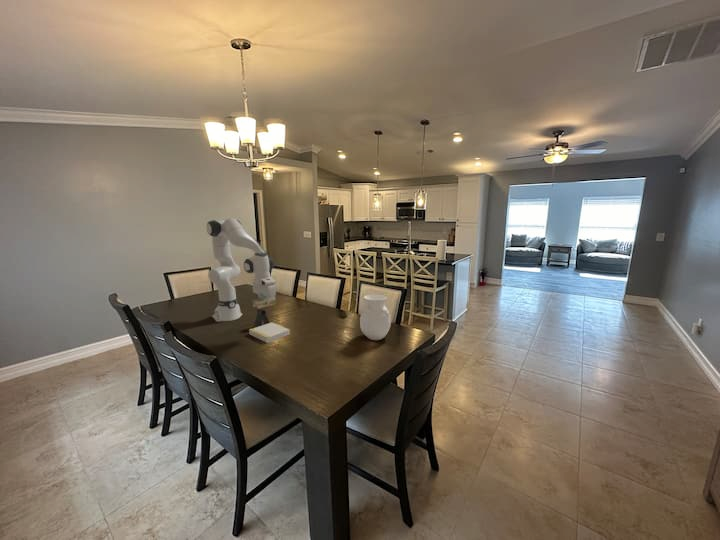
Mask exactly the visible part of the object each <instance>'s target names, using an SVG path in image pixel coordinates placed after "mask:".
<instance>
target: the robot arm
mask: <svg viewBox="0 0 720 540" xmlns="http://www.w3.org/2000/svg"><path fill="white" fill-rule="evenodd" d="M206 232H207V234H208V235H209V236H210V237H211V243H212V251H213V252H212V253H213V257H214V259H215V260H217V261H218V262H219V266H215V267H214V268H212V269H211V270H209V271H208V275H207V277H208V279H209V281H210V282H212V283H213V284H214V285H215V287H216V288H217V293H218V305H217V306H216V308H215V309H214V311H213V312H214V314H212V315H211V317H212V318H213V319H214V320H215V322H217V323H218V322H231V321H232V322H233V321H235V320H237V319H240V318H241V316H242V315H243V313H242V312H241V308H240V304H238V299H237V294H236V293H237V292H236V288H235V286H234V285H232V284H231V282H230V280H233V279H235V278H237V277H238V276H239V275H240V274H241V267H240V266H239V265H238V264H236V262H235V260H234V258H233V256H232V255H233V254H232V250H231V244H232V245H233V246H236V247H238V248H244V249H249V250H251V251H253V252H254V254H253V256H251V257H248V258H245V259H244V261H243V269H244V271H245V272H246V273H247V274H254V279H253V281H252V292H253V293H254V294H256V295H257V297H258V299H260V298H259V293H262V294H263V296H266V298H267V300H266V303H267V304H269V303H270V299H271V298H272V297H276V295H277V293H276V292H277V290H276V285H275V284H276V280H275V279H274V278H273V277H272V276H271V273H270V272H271V271H272V270H273V268H274V266H275V260H274V258H272V256H270V255H269V254H268V253H267V252H266V250H265V249H264V248H263V247H262V245H261V244H260V243H259V242H258V241H257V240H256V239H255V238H254V237H252V236H250V234H248V233H247V232H246V231H245V229H244V227H243V226H242V223H241V222H240V220H238V219H235V218H234V217H233V218H231V217H230V218H226V219H216V220H214V219H213V220H209V221H207V223H206Z"/></svg>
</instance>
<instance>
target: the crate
mask: <svg viewBox="0 0 720 540" xmlns="http://www.w3.org/2000/svg"><path fill="white" fill-rule="evenodd" d="M259 298H260V299H261V300H266V299H267V298H266V296H263V294H262V293H259V297H258V299H259Z"/></svg>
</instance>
